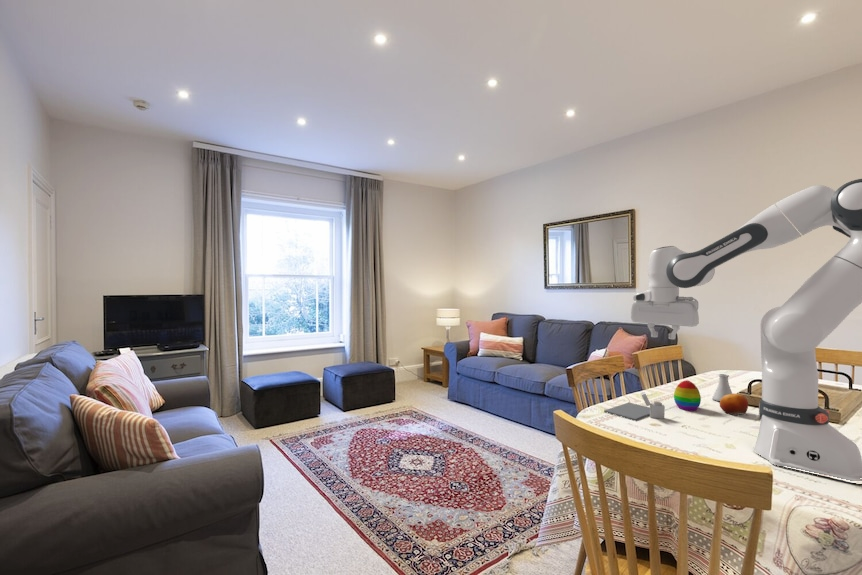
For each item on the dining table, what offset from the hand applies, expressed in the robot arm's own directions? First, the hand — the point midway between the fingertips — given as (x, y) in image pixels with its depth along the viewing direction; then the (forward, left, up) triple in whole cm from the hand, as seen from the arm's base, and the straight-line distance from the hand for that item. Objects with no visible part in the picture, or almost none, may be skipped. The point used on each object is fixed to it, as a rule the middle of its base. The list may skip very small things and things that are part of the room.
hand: (663, 338), depth 135 cm
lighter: (+4, 0, -27) cm, 27 cm away
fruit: (-11, -27, -27) cm, 40 cm away
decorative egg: (+1, -20, -27) cm, 34 cm away
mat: (+11, 0, -27) cm, 29 cm away
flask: (-3, -41, -27) cm, 49 cm away
